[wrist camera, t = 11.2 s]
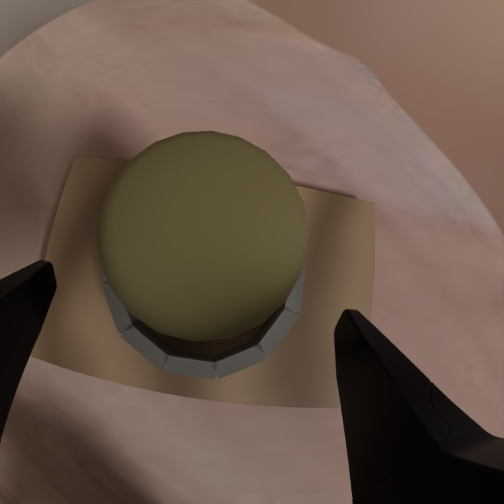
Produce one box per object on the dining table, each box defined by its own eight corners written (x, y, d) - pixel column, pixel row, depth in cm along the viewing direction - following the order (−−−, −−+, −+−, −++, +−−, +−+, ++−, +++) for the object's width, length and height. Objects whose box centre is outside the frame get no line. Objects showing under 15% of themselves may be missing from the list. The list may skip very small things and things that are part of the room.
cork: (282, 274, 17) (391, 203, 7) (213, 360, 16) (221, 431, 5) (200, 206, 17) (196, 60, 7) (129, 286, 16) (15, 228, 5)
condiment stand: (366, 209, 20) (393, 188, 17) (350, 402, 17) (378, 417, 14) (81, 164, 18) (61, 136, 15) (40, 354, 15) (9, 359, 12)
